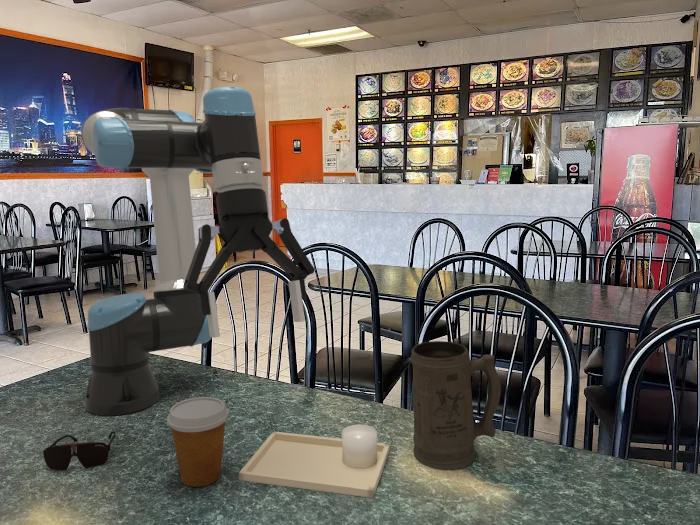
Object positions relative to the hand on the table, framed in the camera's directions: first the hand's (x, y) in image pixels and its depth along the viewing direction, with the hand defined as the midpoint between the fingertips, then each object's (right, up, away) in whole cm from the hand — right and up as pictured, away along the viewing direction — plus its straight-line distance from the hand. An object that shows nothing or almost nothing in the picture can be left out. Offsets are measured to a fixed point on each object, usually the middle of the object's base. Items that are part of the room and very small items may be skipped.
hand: (258, 329), depth 83 cm
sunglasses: (-34, -25, +15) cm, 44 cm away
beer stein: (+32, -24, +13) cm, 42 cm away
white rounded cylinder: (+16, -24, +11) cm, 30 cm away
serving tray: (+8, -25, +9) cm, 28 cm away
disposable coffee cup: (-11, -25, +7) cm, 28 cm away
